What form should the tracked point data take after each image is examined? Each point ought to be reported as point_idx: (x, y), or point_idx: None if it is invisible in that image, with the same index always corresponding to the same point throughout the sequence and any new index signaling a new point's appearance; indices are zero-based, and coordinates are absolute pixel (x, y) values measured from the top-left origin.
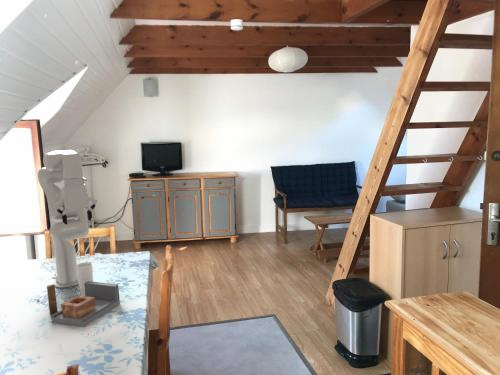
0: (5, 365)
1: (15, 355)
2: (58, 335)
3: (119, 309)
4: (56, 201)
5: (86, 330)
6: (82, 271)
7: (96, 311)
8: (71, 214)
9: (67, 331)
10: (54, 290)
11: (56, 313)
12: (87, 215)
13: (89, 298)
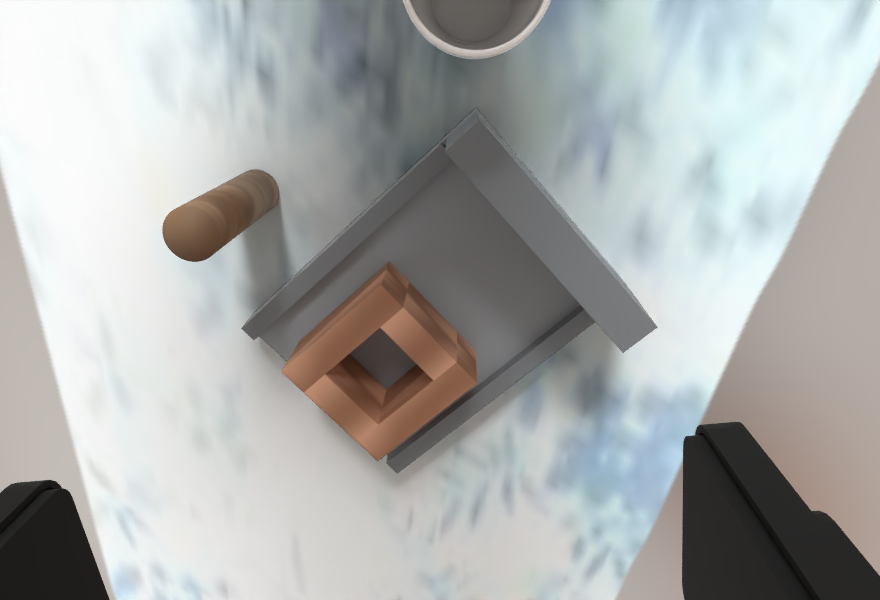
0: (114, 584)
1: (134, 536)
2: (287, 465)
3: (597, 349)
4: None
5: (405, 484)
6: (447, 53)
7: (469, 413)
8: None
9: (325, 450)
10: (227, 242)
11: (267, 320)
12: (738, 534)
13: (445, 382)
